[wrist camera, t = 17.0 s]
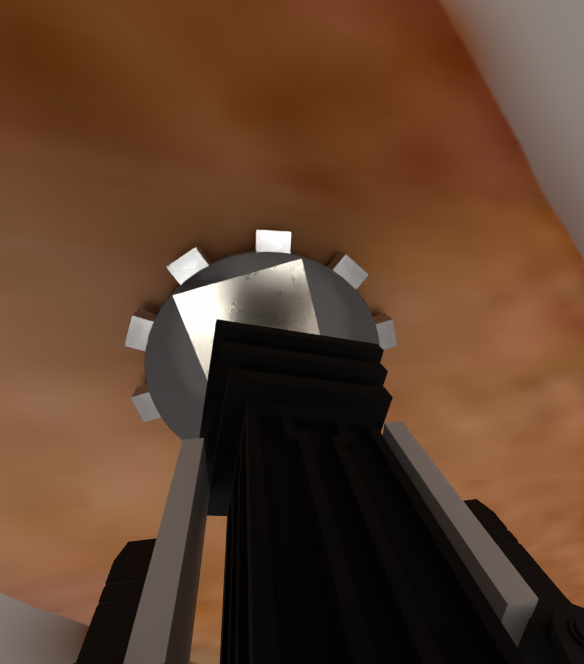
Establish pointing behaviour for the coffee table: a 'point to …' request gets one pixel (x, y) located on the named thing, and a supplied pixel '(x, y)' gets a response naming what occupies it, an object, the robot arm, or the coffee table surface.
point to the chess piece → (327, 515)
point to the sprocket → (242, 318)
